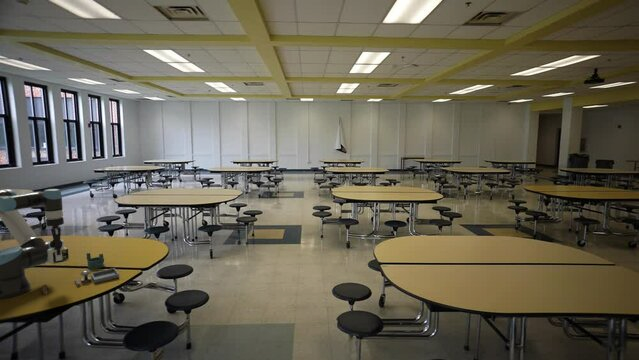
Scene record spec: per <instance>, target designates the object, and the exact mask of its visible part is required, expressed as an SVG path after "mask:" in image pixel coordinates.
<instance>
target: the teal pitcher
mask: <svg viewBox="0 0 639 360" xmlns="http://www.w3.org/2000/svg"><path fill="white" fill-rule="evenodd" d="M85 255H86V261H87V270H98V269H102V268H103V267H104V263H105V258H104V254H103V253H99V255H98V256H95V257H92V258H91V253H90V252H87V253H86V254H85Z"/></svg>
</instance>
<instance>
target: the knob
mask: <svg viewBox="0 0 639 360" xmlns="http://www.w3.org/2000/svg"><path fill="white" fill-rule="evenodd" d="M88 275H91V269H85V270H81V271H80V276H83V277H82V278H81V279H80V282H81V283H86V282H91V281H92V278H91V276H88Z"/></svg>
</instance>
